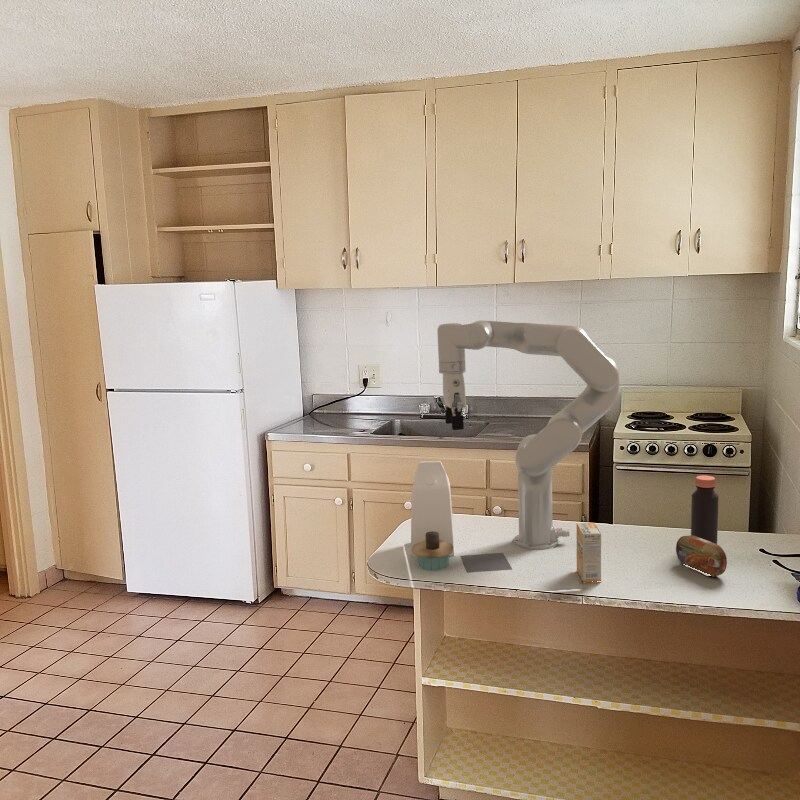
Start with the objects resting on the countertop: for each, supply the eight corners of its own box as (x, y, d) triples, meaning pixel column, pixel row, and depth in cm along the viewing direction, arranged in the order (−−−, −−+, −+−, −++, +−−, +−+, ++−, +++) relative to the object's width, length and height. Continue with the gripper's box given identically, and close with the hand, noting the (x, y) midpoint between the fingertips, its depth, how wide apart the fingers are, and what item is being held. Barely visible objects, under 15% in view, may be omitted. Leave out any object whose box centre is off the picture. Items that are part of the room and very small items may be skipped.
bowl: (446, 559, 208) (445, 544, 208) (450, 570, 200) (449, 554, 200) (417, 561, 208) (416, 545, 207) (420, 572, 200) (419, 556, 199)
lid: (450, 541, 209) (449, 525, 208) (456, 556, 198) (455, 539, 198) (410, 544, 208) (409, 528, 208) (414, 559, 198) (413, 542, 197)
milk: (454, 543, 221) (451, 456, 217) (454, 557, 210) (451, 466, 205) (413, 543, 222) (409, 457, 218) (410, 558, 211) (407, 467, 206)
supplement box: (575, 570, 197) (575, 522, 195) (594, 570, 197) (594, 521, 195) (582, 583, 189) (582, 533, 187) (601, 583, 189) (601, 532, 187)
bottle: (722, 550, 207) (724, 479, 203) (700, 553, 205) (702, 482, 202) (706, 542, 213) (708, 473, 210) (685, 545, 212) (686, 475, 208)
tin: (674, 562, 200) (675, 531, 199) (683, 560, 201) (684, 529, 200) (719, 582, 186) (720, 549, 185) (728, 580, 188) (729, 547, 186)
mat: (503, 554, 210) (503, 552, 210) (512, 571, 199) (512, 569, 198) (460, 557, 210) (460, 555, 209) (467, 574, 198) (467, 572, 198)
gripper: (471, 369, 207) (474, 431, 210) (458, 363, 224) (461, 420, 227) (444, 371, 206) (447, 433, 209) (433, 364, 223) (436, 421, 226)
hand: (454, 426), depth 218 cm, fingers open, 9 cm apart
